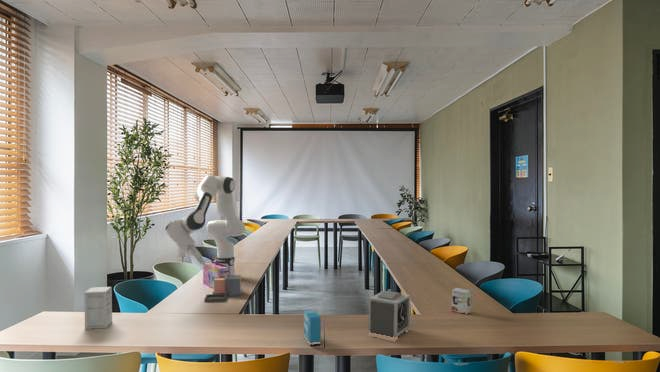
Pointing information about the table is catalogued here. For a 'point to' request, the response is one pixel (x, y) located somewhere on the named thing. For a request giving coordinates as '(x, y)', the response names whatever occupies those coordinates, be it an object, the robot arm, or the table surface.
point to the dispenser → (233, 285)
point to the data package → (312, 326)
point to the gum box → (214, 273)
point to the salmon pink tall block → (219, 286)
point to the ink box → (461, 300)
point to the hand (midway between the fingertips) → (203, 263)
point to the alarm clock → (389, 313)
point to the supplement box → (98, 307)
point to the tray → (215, 298)
